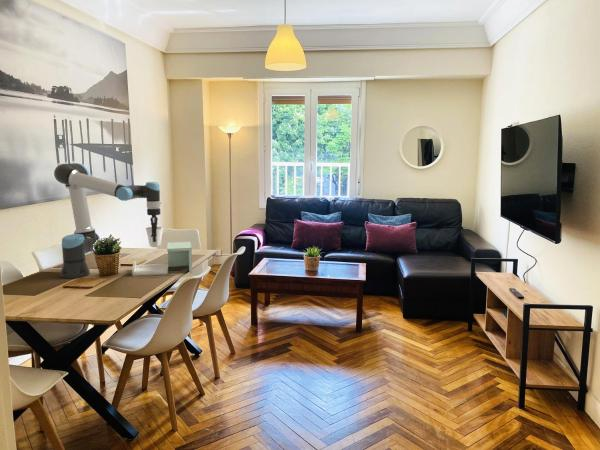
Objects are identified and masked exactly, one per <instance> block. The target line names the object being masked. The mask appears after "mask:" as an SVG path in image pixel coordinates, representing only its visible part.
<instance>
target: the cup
mask: <svg viewBox="0 0 600 450" xmlns="http://www.w3.org/2000/svg"><path fill="white" fill-rule="evenodd" d="M163 229H164V227H163V226H157V229H156V234H157V247H156V248H158V247H160V246H161V245H162V236H163ZM145 230H146V235H147V238H148V244H149V247H150V248H151V247H152V237H151V235H152V226H149V227H145ZM152 248H153V247H152Z"/></svg>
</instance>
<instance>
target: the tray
mask: <svg viewBox="0 0 600 450" xmlns="http://www.w3.org/2000/svg"><path fill="white" fill-rule="evenodd" d="M132 263H133V264H132V266H131V276H132V277H138V276H155V275H168V274H169V267H168V262H167V263H152V264H147V263H146V264H137V260H134V261H133V262H132Z"/></svg>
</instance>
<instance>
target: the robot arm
mask: <svg viewBox="0 0 600 450" xmlns="http://www.w3.org/2000/svg"><path fill="white" fill-rule="evenodd" d="M89 173H90V172H89V169H88V168H87V167H86V165H84V164H83V163H76V162H73V163H71V162H70V163H61V164H58V165H57V166H56V167H55V169H54V172H53V175H54V178H55V180H56V181H57V182H59V183H60V184H63V185H65V188H66V189H67V190H68V191H69V195H70V196H69V197H70V203H71V208H72V215H73V219H74V224H75V230H74V232H73V233H72V234H67V235H65V236H63V237H62V239H61V251H62V267H61V269H60V277H61V278H63V279H79V278H84V277H86V276H89V275H90V269H89V266H88V263H87V262H86V261H87V260H86V255H87V254H89V253H91V252H94V251H93V244H94V243H95V242H96V240H98V239H100V240H101V237H100V236H99V234H98V233H97V232H96V229H95V228H94V227H93V226H92V222H91V217H90V216H91V215H90V211H89V205H88V204H89V203H88V200H87V199H88V198H87V192H86V189H87V190H91V191H93V192H97V193H101V194H104V195H108V196H111V197H114V198H117V199H118V200H120V201H125V202H126V201H130V200H134V199H146V213H147V214H146V215H148V216H151V217H150V219H149V220H150V226H151V227H152V235H151V237H152V248H158V247H157V234H156V229H157V227H158V217H157V216H160V215H161V205H162V202H161V199H160V198H161V196H160V195H161V193H160V192H161V191H160V190H161V189H160V183H159V182H158V181H148V182H147V181H146V183H145V185H138V184H137V185H136V184H131V185H123V184H120V183H116V182H113V181H110V180H106V179H103V178H99V177H96V176H93V175H90V174H89Z"/></svg>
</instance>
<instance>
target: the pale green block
mask: <svg viewBox="0 0 600 450" xmlns="http://www.w3.org/2000/svg"><path fill="white" fill-rule="evenodd" d="M166 245H167V246H166V249H167V263H168V268H171V267H172V268H173V267H188V272H189V273H190V274H193V251H192V250H193V249H192V243H191V241H175V242H174V241H173V242H167V244H166Z"/></svg>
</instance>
